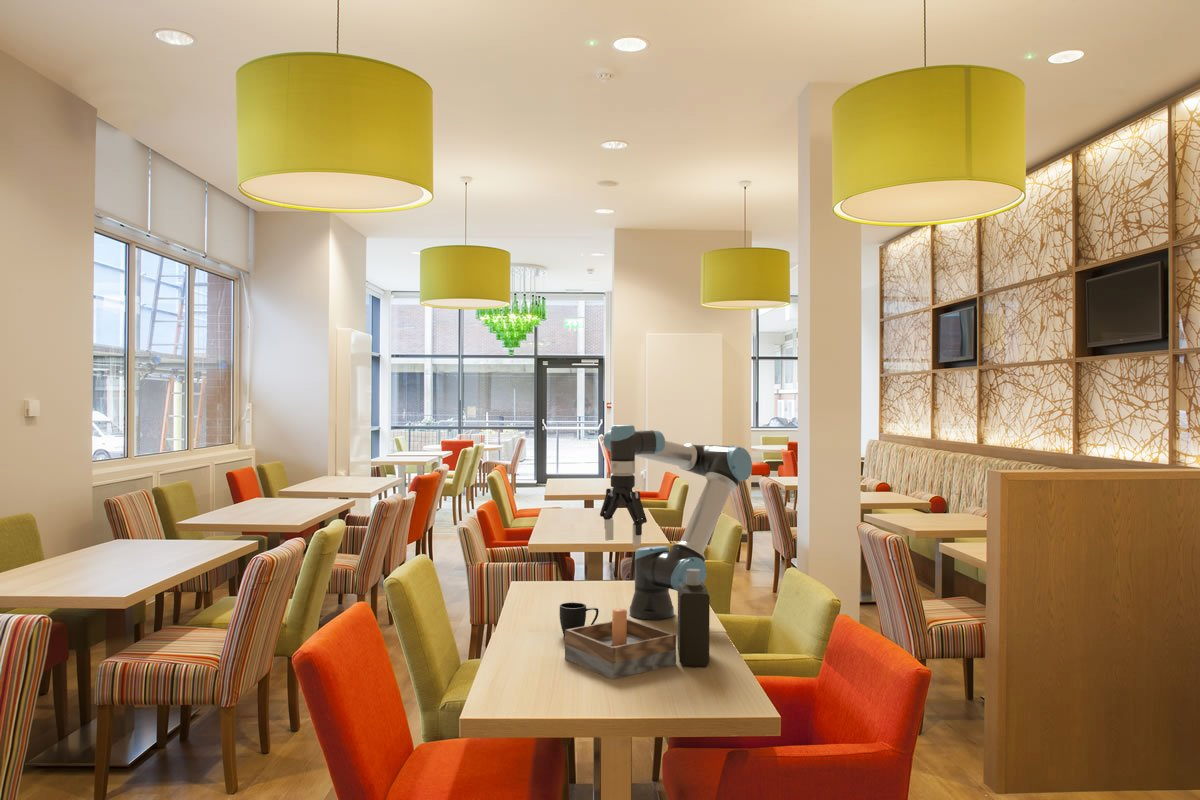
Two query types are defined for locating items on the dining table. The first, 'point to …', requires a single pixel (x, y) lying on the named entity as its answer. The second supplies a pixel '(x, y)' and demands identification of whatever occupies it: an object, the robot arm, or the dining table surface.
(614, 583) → the dining table surface
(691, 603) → the bottle
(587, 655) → the crate
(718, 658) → the dining table surface
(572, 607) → the mug
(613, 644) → the peg
